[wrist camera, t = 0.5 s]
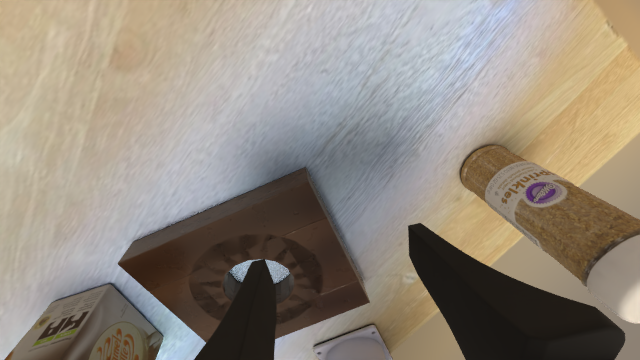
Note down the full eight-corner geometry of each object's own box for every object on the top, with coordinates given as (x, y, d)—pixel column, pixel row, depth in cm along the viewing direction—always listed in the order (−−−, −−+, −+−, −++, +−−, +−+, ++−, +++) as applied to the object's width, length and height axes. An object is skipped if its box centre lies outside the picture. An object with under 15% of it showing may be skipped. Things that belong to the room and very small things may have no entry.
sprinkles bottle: (488, 133, 23) (716, 241, 11) (518, 161, 24) (742, 281, 12) (447, 174, 24) (609, 310, 12) (478, 198, 26) (646, 338, 14)
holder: (363, 282, 29) (370, 302, 27) (228, 335, 30) (224, 359, 28) (305, 166, 22) (308, 181, 20) (132, 242, 23) (116, 263, 21)
